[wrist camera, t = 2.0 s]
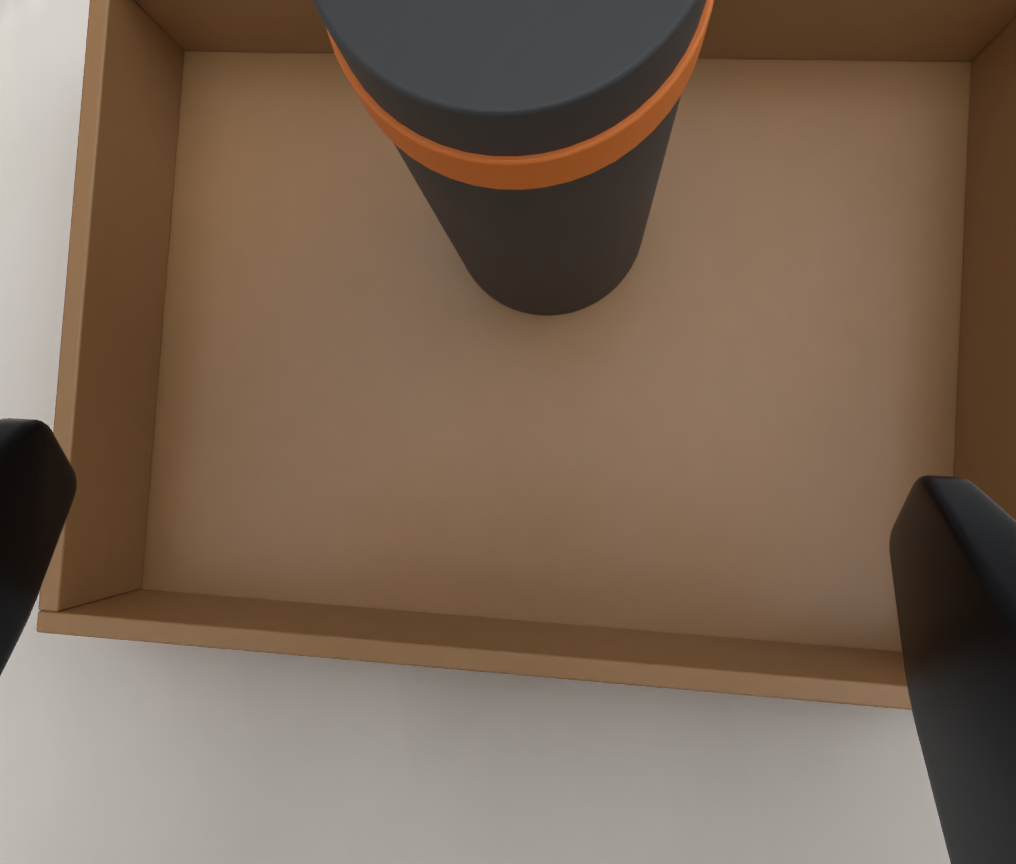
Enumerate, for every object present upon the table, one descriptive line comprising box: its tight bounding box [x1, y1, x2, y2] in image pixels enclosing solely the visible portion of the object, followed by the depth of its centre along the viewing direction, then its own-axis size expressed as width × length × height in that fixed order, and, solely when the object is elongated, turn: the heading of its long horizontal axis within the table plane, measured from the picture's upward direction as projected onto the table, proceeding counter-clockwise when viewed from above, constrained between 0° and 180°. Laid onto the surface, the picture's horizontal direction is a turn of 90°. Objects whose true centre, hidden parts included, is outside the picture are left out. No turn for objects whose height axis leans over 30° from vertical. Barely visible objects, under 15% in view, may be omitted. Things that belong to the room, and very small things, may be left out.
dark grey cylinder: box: [312, 0, 714, 316], centre depth 15 cm, size 5×5×12 cm
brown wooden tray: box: [37, 0, 1016, 710], centre depth 19 cm, size 16×22×4 cm
